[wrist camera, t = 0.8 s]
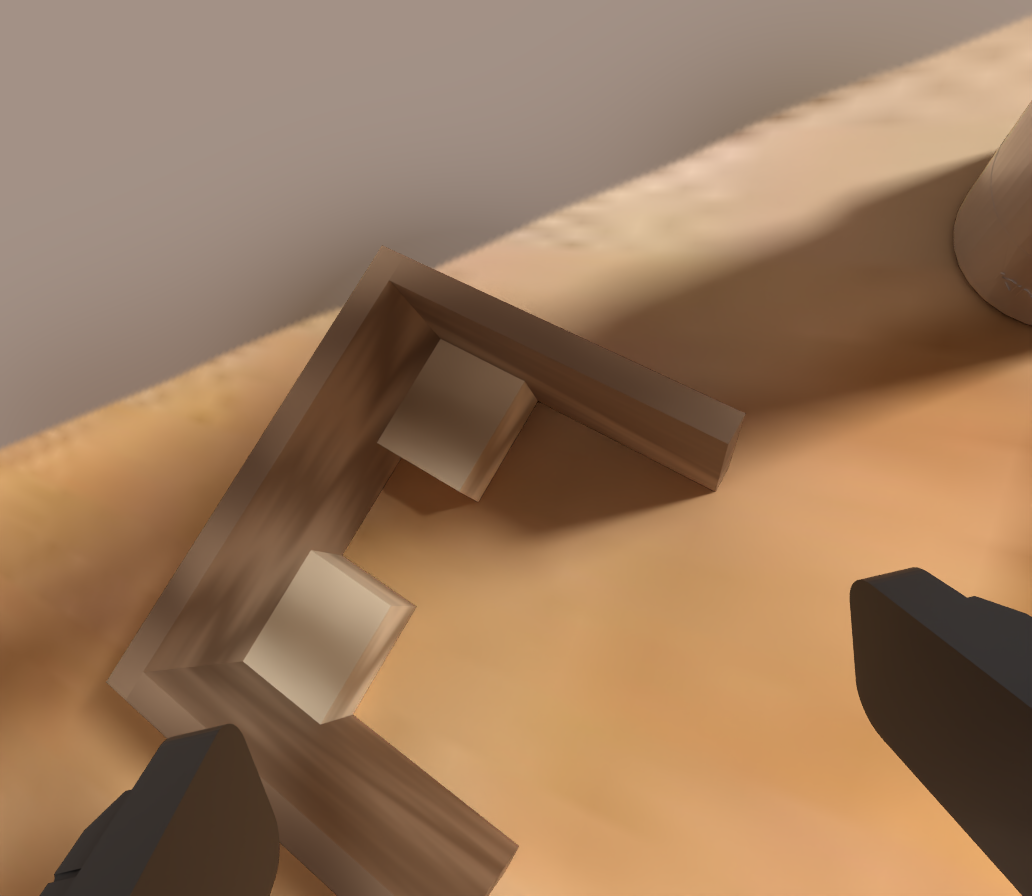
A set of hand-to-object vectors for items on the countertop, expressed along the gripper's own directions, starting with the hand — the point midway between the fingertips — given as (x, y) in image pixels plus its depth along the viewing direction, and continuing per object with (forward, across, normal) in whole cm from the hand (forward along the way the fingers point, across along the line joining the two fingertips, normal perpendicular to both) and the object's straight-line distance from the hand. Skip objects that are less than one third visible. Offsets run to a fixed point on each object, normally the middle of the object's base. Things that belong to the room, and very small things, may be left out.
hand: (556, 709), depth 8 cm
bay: (+22, +3, +8) cm, 24 cm away
